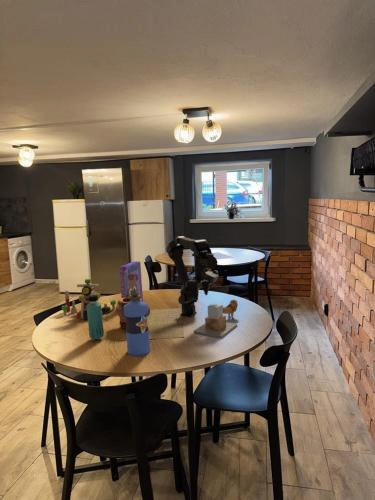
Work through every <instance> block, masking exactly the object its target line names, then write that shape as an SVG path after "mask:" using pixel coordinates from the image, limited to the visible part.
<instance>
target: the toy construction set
mask: <svg viewBox="0 0 375 500" xmlns="http://www.w3.org/2000/svg"><path fill="white" fill-rule="evenodd" d="M98 287H99V283H92V279H90V278H86V279H84V283H81V284H80V283H79V284H76V288H82V289H81V295H79V296H78V301H79V302H80V303H81V304H80V312H78V308H77V307H76V301H75V300H73V301H71V303H70V293H69V290H65V291H64V298H65V304H64V305H62V306H61V311H63V316H64V315H65V316H67V315H68V314H67V312H68V313H69V312H70V314H71V315H74V314H76V319H81V320H85V321H86V320H87V321H88V315H87V305H88V304H89V303H92V302H89V301H88V297H89V296H91V295H97V296H98V300H97V301H94V302H98V301H99V299H101V293H100V292H97V291H95V288H98ZM109 302H110V306H112V310H114V311H115V309H116V305H117V302H116V300H115V299H113V300H110V301H109ZM110 306H108V303H107V302H106V303H103V307H102V306H101V309H102V314H108V313H110V312H111V307H110Z"/></svg>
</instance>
